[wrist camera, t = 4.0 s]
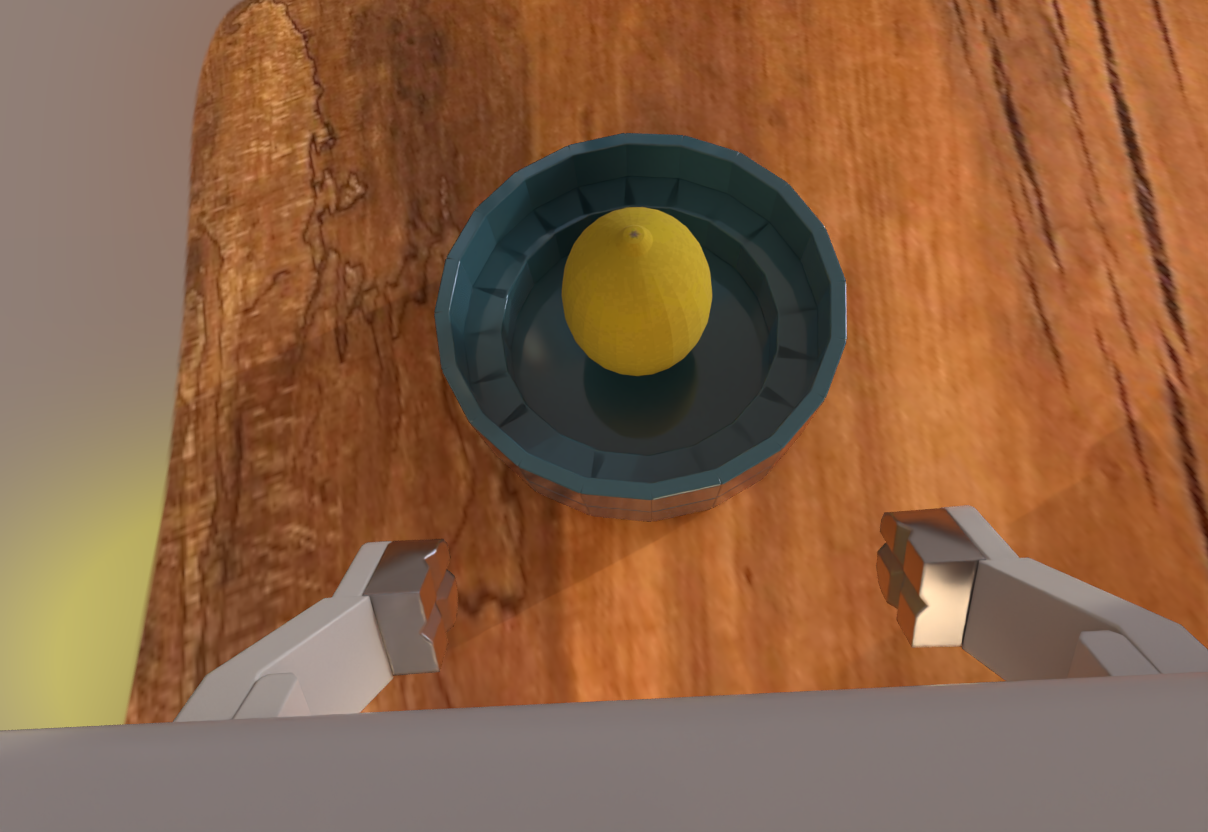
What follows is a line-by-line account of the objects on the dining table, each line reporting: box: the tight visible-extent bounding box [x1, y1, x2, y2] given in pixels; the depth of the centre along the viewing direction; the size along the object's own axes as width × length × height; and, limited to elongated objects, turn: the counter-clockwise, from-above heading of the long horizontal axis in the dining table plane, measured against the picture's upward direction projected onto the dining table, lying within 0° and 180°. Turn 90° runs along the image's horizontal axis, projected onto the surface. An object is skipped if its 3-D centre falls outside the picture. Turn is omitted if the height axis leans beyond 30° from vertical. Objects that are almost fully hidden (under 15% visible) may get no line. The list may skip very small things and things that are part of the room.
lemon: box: [562, 207, 712, 376], centre depth 25 cm, size 6×6×8 cm
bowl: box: [434, 133, 847, 522], centre depth 27 cm, size 15×15×4 cm
